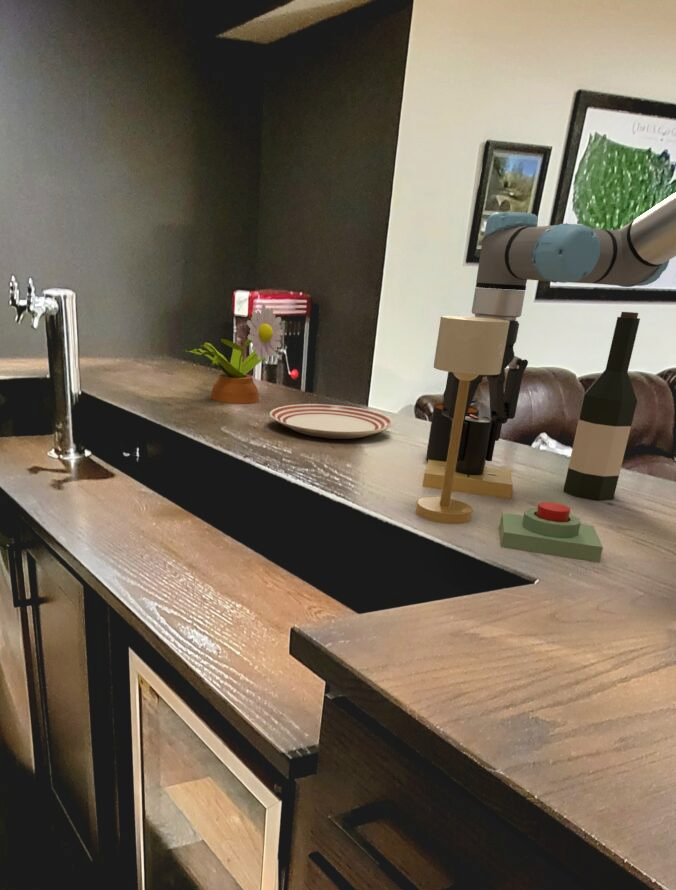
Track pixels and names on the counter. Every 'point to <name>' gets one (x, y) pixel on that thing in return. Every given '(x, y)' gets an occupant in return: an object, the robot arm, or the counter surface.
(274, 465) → the counter surface
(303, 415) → the dinner plate
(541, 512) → the lamp button
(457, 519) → the lamp
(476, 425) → the black cylinder
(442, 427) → the mug
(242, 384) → the decorative plant
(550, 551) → the switch block
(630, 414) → the wine bottle
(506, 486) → the tan flat block
